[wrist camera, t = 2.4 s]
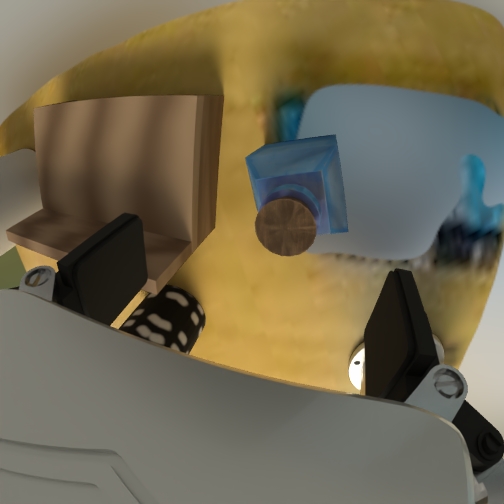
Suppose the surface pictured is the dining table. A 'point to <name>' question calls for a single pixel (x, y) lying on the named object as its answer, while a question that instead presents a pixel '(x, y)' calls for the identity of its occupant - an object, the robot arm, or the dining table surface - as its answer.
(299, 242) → the perfume bottle
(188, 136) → the brown wooden bench
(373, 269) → the dining table surface
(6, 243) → the cylinder vase
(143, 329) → the spotted tube
